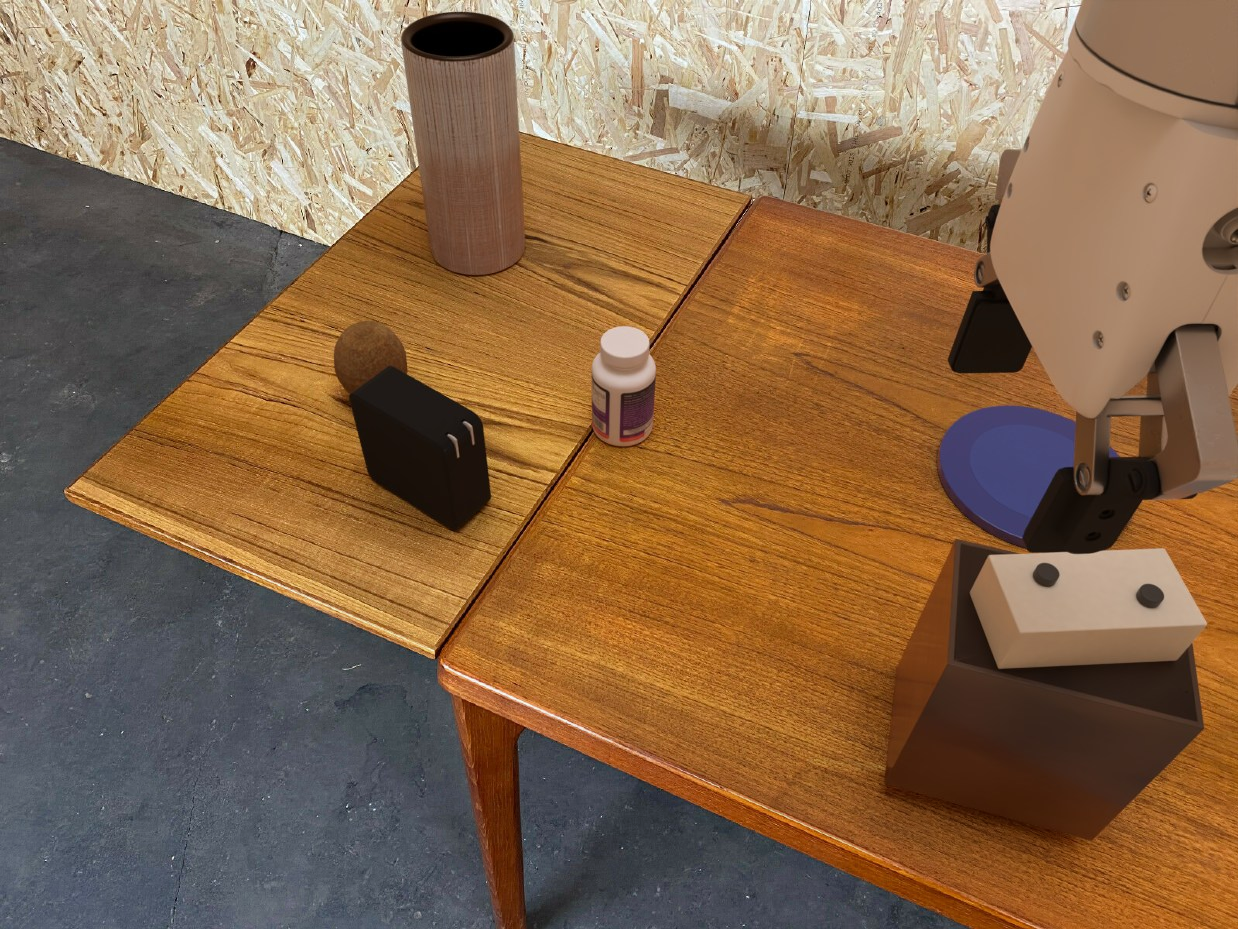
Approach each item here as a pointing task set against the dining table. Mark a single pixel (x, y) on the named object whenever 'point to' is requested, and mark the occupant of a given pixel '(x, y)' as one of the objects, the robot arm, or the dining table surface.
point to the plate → (1004, 465)
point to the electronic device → (422, 446)
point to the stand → (1029, 719)
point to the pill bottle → (623, 387)
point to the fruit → (366, 353)
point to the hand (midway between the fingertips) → (1020, 449)
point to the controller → (1085, 608)
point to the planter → (467, 138)
